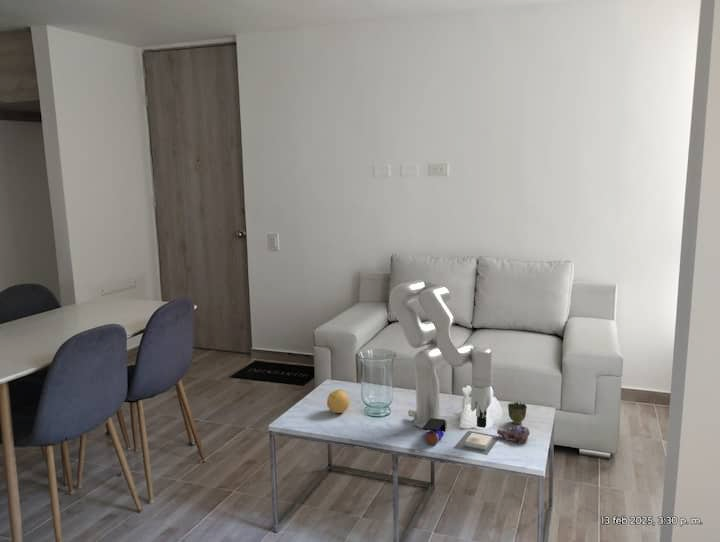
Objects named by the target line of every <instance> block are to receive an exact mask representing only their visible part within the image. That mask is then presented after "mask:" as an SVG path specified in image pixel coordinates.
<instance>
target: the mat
mask: <svg viewBox="0 0 720 542" xmlns="http://www.w3.org/2000/svg"><path fill="white" fill-rule="evenodd" d="M472 433H475V434H481V435H486V436H491V437H492V443H491V444H490V445H489V447H488V448H487V449H486V450H482V449H477V448H472V447H467V446H465V441H466V440H467V438H468V437H469V436H470V435H471V434H472ZM500 438H501V436H499V435H494V434H489V433H483V432H478V431H472V430H467V432H465V434H463V436H462V437H461V438H460V440H459V441H457V443H456V444H455V445H454V447H453V449H456V450H461V451H465V452H470V453H475V454H479V455H480V454H481V455H485V456H488V454H489V453H490V452H491V450H492V449H493V448H494V446H495V445H496V443H497V442H498V441H499V440H500Z"/></svg>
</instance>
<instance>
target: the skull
mask: <svg viewBox="0 0 720 542" xmlns="http://www.w3.org/2000/svg"><path fill="white" fill-rule="evenodd" d="M496 433H497V435H498V436H500V437H501V439H503V440H506V441H515V443H517V444H521V443H525V442H527V441H528V440H529V436H530V434H531V433H530V429H529V427H526V426H522V425H515V426H512V427H509V428H499V429H497V431H496Z"/></svg>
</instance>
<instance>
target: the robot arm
mask: <svg viewBox="0 0 720 542" xmlns="http://www.w3.org/2000/svg"><path fill="white" fill-rule="evenodd" d="M451 297H452V296H451V293H450V291H449V290H448V289H447V288H446V287H445V286H443V285H440V284H437V283H433V282H430V281H426V280H423V279H417V280H412V281H408V282H403V283H399V284H398V285H396V286H394V287H393V288H392V289H391V291H390V293H389V298H388V299H389V306H390V308H391V310H392V312H393V314H394V315H395V317H396V318H397V320H398V322H399V323H398V324H399V326H400V328H401V330H402V332H403V334H404V337H405V339H406V342H407V343H408V345H409V346H410V347H411V348H413V349H420V348H422V347H425V346H426V347H427V348H424V349H422V350H420V351H418V352H417V353H416V354H415V355H414V357H413V360H412V361H413V362H412V363H413V370H414V375H415V387H416V388H415V393H416V397H415V399H416V403H415V405H416V407H415V408H416V409H415V410H414V409H408V412H407V413H408V417H413V420H412V423H413V425H414V426H415V427H417V428H420V429H422V428H423V427H424V425H425V424H426V423H427V422H428V421H429V419H430V418H434V419H443V418H442V417H440V415H441V410H440V380H439V377H438V375H437V371H438V370H439V369H442V368H445V367H446V366H448V365H449V366H450V367H452V368H454V369H455V368H456V369H458V368H461V367H464V366H466V365H469V364H471V385H472V389H471V397H470V398H471V400H470V401H471V403H470V411H471V412H475V416H476V426H477V427H478V428H483V429H485V428H486V427H487V410H488V408H489V407H490V405H491V386H492V385H493V378H492V377H493V352H492V350H491V349H489V348H487V347H480V346H478V345H475V344H473V343H468V342H467V343H464V344H461V345H459V346H456V345H455V343H454V342H453V340H452V338H451V334H450V330H451V326H452V325H453V324H454V322H455V317H454V315H453V314H452V312H451V311H450V309H449V308H448V304H449V303H450V302H451ZM415 302H419V305H420V307H421V308H422V310H423V311H424V313H425V314H426V316H427V317H428V318H427V319H429V320H428V321H423V322H422V320H421V318H420V317H419V313H418V312H417V311H416V309H415V308H414V307H412V306H411V305H410V304H411V303H415Z"/></svg>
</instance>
